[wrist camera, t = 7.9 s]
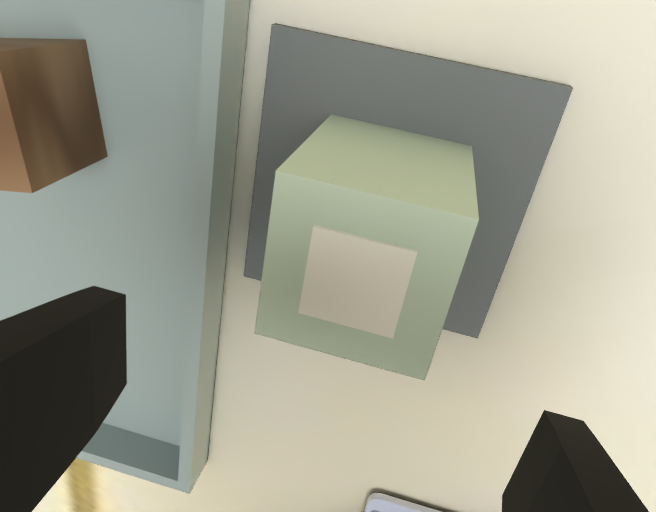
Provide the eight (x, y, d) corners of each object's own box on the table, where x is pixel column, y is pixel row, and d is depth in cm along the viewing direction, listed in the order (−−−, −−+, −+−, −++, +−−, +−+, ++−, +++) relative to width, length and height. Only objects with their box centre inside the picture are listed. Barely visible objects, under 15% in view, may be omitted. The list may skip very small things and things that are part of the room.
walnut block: (107, 156, 20) (32, 193, 16) (13, 150, 20) (-79, 184, 17) (85, 39, 18) (-5, 52, 14) (-17, 37, 19) (-127, 48, 15)
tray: (207, 459, 26) (189, 494, 24) (-51, 380, 28) (-85, 407, 26) (251, -22, 16) (227, -23, 14) (-157, -105, 18) (-224, -114, 16)
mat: (477, 332, 20) (477, 338, 20) (247, 271, 21) (243, 276, 20) (570, 85, 16) (572, 87, 15) (275, 23, 17) (272, 24, 16)
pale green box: (433, 270, 19) (424, 382, 13) (310, 238, 19) (253, 335, 14) (472, 146, 17) (479, 221, 11) (331, 114, 17) (274, 171, 12)
